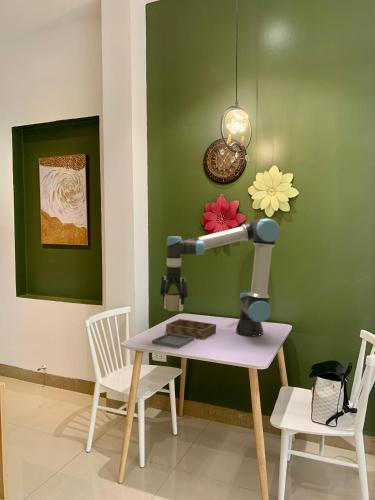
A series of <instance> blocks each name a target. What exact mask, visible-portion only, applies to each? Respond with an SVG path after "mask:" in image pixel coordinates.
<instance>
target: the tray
mask: <svg viewBox="0 0 375 500" xmlns="http://www.w3.org/2000/svg"><path fill="white" fill-rule="evenodd" d="M193 341H195V338H194V337H191V336H185V335H179V334H174V333H164V334H163V335H161V336H158V337H156V338H153V339H151V344H155V345H159V346H164V347H169V348H175V349H180V348H182V347H184V346H186V345H188V344H190V343H191V342H193Z"/></svg>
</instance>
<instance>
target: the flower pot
mask: <svg viewBox="0 0 375 500" xmlns="http://www.w3.org/2000/svg"><path fill="white" fill-rule="evenodd" d="M165 297H166V301H167V309H166V310H167V311H169V312H180V311H179V298H181V297H180V295H179V292H178V291H177V292H176V291H172V292H171V291H170V292H168V293H165Z"/></svg>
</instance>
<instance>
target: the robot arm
mask: <svg viewBox="0 0 375 500" xmlns="http://www.w3.org/2000/svg"><path fill="white" fill-rule="evenodd" d="M280 231H281V230H280V226H279V224H278V223H277V222H276V220H274V219H271V218H268V217H267V218H259V219H258V218H257V219H255V220H252V221H250V222H246V223H243V224H242V225H240V226H238V227H233V228H230V229H226V230H221V231H217V232H214V233H210V234H205V235H202V236H198V237H194V238H188V239H186V240H185V239H183V238H182V236H177V235H176V236H174V235H171V236H170V235H169V236H167V238H166V275H162V276H161V285H160V290H159V291H160V292H159V295H160V296H162V302H163V303H164V304H163V307H164V310H167V301H166V297H165V293H169V291H170V289H171V287H172V285H174V286H175V287H176V289H177V292H178V293H179V295H180V297H181V298H179V311H178V312H182V311H184V305H185V298H188V296H189V293H188V287H187V278H186V277H183V276H182V255H183V256H185V255H186V256H187V255H190V256H191V255H192V256H195V255H196V256H200V255H205V251H206V250H208V249H211V248H216V247H220V246H224V245H229V244H233V243H238V242H241V241H245V242H248V241H252V244H253V245H254V247H255V249H254V257H253V258H254V259H253V267H252V277H251V288H250V292H241V293H239V319H238V322H237V324H236V328H235V329H236V330H235V333H237V334H238V335H240V336H244V335H246V336H245V337H253V336H252V335H259V334H262V333H263V334H264V328H263V324H262V322H265V321H267V320H269V318H270V317H271V315H272V309H271V306H270V295H269V294H268V291H269V289H268V287H269V280H270V279H269V278H270V271H271V262H272V252H273V248H274V247H276V242H277V238H278V237H279V235H280ZM263 334H262V335H263ZM259 336H260V335H259Z"/></svg>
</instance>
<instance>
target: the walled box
mask: <svg viewBox="0 0 375 500" xmlns="http://www.w3.org/2000/svg"><path fill="white" fill-rule="evenodd" d="M167 333H174V334H179V335H185V336H191V337H194V339H199V340H202V341H204V340H206V339H208V338H210V337H212V336H214V335H216V334H217V324H216V323H210V322H204V321H198V320H197V321H196V320H191V319H190V320H189V319H183V318H178V319H176V320H173V321H171V322H169V323H166V324H165V334H167Z"/></svg>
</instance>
